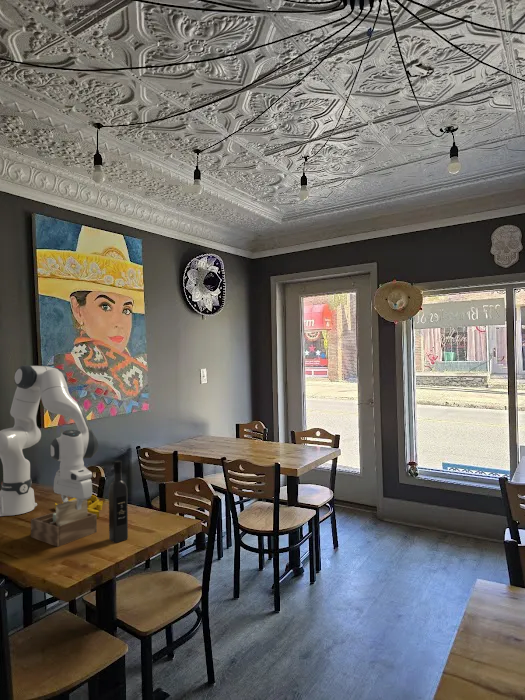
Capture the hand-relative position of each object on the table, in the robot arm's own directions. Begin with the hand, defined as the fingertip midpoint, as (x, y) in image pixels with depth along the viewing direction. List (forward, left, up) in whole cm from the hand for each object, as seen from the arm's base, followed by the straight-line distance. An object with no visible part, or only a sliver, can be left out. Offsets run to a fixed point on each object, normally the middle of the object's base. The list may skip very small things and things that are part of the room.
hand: (72, 507), depth 179 cm
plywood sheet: (0, 0, -12) cm, 12 cm away
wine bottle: (+18, +8, -12) cm, 23 cm away
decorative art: (-25, +23, -12) cm, 36 cm away
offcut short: (-6, 0, -6) cm, 9 cm away
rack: (-6, 0, -12) cm, 13 cm away
